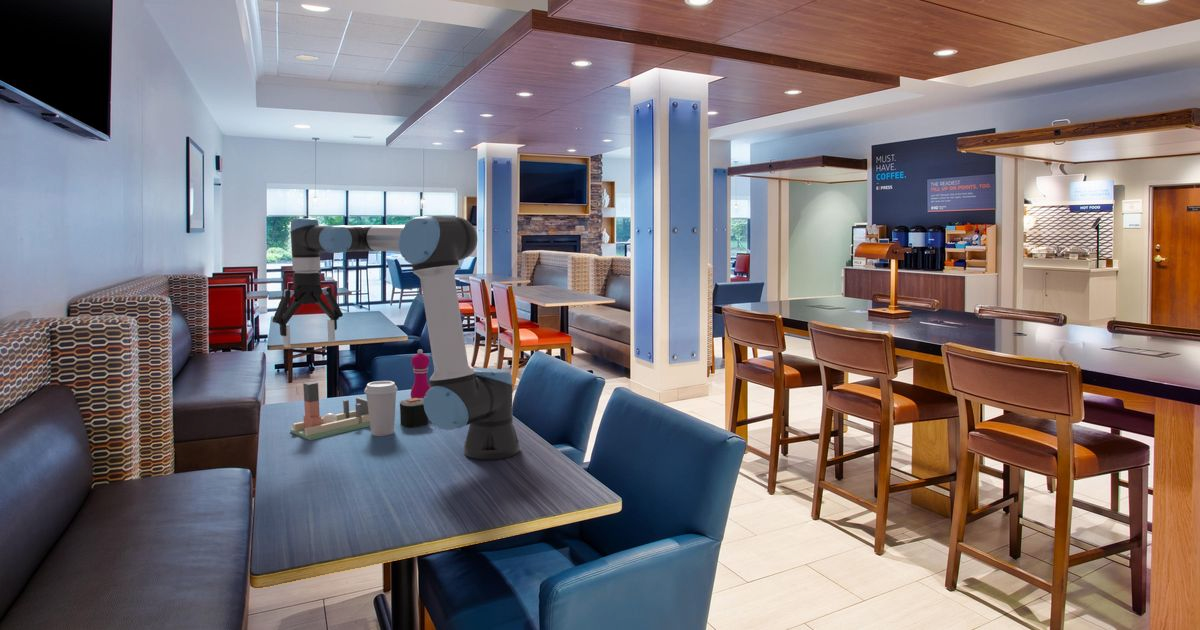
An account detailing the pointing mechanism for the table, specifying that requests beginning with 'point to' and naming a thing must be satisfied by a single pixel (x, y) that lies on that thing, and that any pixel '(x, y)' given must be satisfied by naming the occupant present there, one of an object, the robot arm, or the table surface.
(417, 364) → the pepper mill
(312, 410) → the black and red block
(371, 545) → the table surface
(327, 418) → the ball
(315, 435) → the pitch
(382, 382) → the coffee cup
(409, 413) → the sushi
